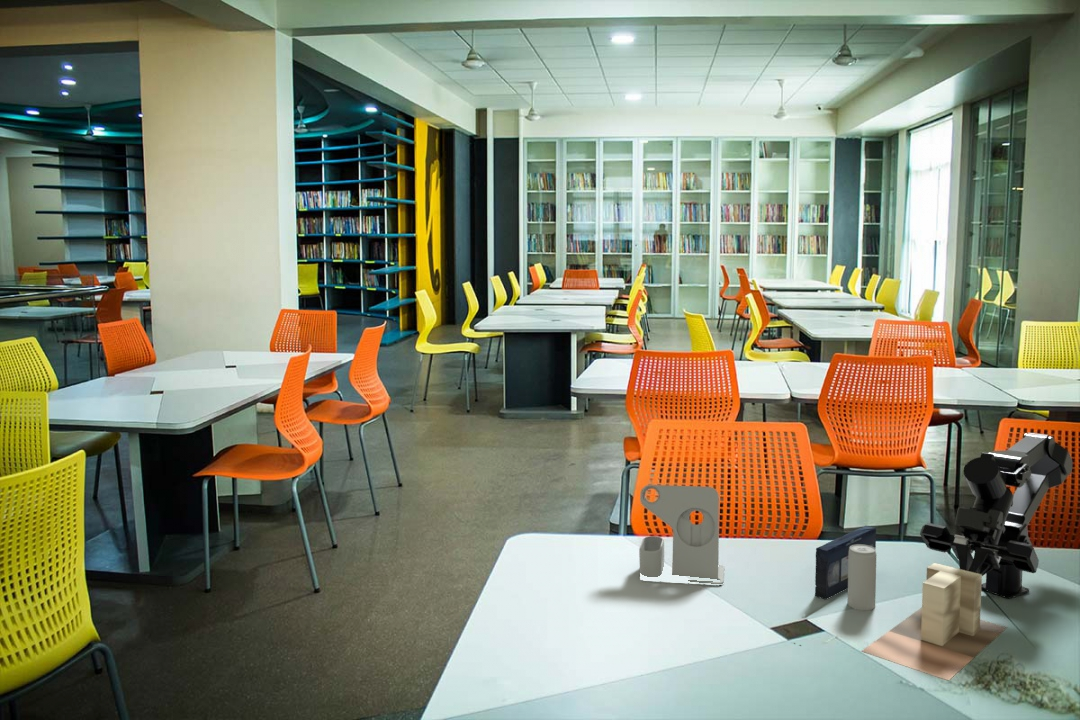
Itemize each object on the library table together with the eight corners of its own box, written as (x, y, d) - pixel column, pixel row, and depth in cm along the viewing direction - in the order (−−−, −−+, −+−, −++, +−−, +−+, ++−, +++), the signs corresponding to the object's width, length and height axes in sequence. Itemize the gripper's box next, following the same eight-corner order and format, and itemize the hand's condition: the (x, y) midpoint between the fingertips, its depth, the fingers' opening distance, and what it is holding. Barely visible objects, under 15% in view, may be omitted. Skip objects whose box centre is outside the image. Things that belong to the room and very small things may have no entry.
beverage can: (877, 617, 159) (878, 553, 157) (849, 615, 160) (850, 552, 158) (872, 606, 163) (874, 544, 162) (845, 604, 164) (846, 543, 163)
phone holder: (636, 581, 179) (635, 496, 176) (642, 563, 188) (641, 482, 186) (723, 586, 174) (723, 499, 172) (724, 568, 184) (724, 485, 182)
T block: (932, 616, 155) (934, 562, 154) (979, 630, 150) (981, 574, 148) (907, 635, 149) (909, 579, 147) (956, 650, 143) (958, 592, 141)
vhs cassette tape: (825, 600, 167) (826, 550, 165) (812, 596, 169) (812, 546, 168) (877, 575, 178) (878, 528, 177) (864, 571, 180) (865, 524, 179)
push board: (925, 610, 161) (925, 604, 160) (1007, 633, 151) (1007, 627, 150) (861, 657, 144) (861, 651, 144) (948, 687, 134) (948, 680, 133)
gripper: (925, 480, 162) (897, 553, 156) (1036, 500, 148) (1010, 580, 142) (941, 511, 168) (915, 582, 162) (1049, 533, 155) (1024, 611, 149)
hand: (963, 588), depth 154 cm, fingers closed
